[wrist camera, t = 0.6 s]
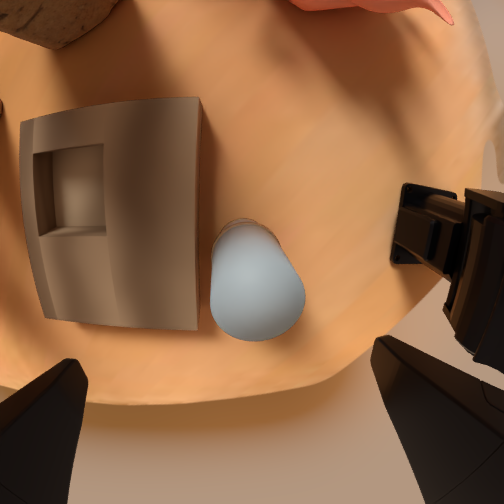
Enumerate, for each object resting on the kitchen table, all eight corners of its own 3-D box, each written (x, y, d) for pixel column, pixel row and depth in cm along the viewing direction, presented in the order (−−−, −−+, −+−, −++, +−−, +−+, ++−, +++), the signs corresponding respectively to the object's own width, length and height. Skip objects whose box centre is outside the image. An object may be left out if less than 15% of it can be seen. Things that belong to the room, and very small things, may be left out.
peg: (275, 213, 19) (313, 257, 11) (271, 271, 20) (299, 340, 12) (212, 212, 18) (207, 255, 11) (212, 270, 19) (209, 343, 12)
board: (202, 106, 16) (199, 97, 13) (200, 306, 20) (197, 330, 17) (44, 123, 14) (20, 122, 11) (61, 299, 19) (45, 317, 16)
